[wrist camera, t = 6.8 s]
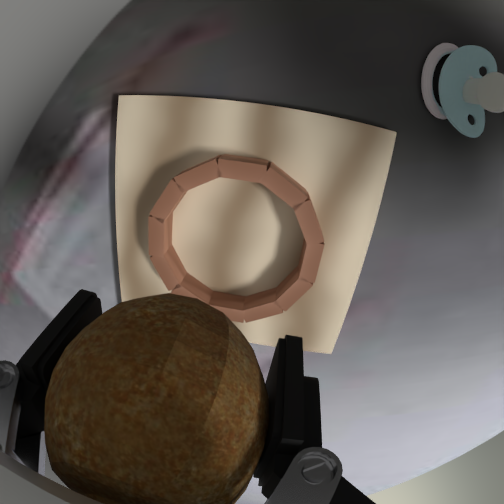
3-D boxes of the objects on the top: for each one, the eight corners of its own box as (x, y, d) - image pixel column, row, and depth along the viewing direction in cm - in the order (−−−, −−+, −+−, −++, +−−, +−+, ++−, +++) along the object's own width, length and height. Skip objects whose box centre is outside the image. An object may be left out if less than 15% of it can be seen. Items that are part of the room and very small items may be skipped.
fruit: (87, 284, 11) (-37, 442, 4) (224, 220, 10) (104, 485, 3) (172, 392, 14) (119, 547, 6) (301, 361, 12) (298, 568, 5)
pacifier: (408, 110, 20) (470, 141, 20) (442, 114, 15) (513, 156, 14) (429, 28, 17) (490, 64, 17) (465, 11, 11) (535, 60, 11)
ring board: (391, 130, 21) (406, 135, 18) (330, 345, 30) (333, 369, 27) (126, 95, 21) (105, 95, 18) (128, 309, 30) (115, 329, 27)
